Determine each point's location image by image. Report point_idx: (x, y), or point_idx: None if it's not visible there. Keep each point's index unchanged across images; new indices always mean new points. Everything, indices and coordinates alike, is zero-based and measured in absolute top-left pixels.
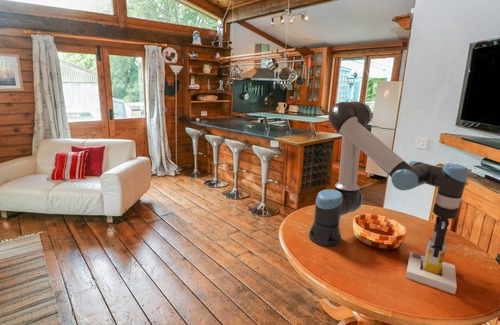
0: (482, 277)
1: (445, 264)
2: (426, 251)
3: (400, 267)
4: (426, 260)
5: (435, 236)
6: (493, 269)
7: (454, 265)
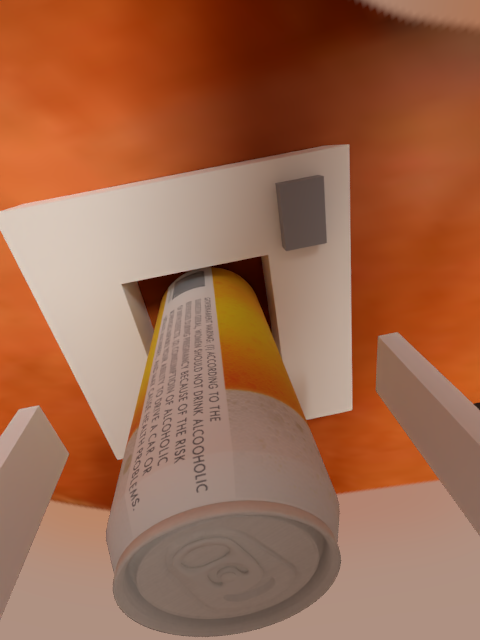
0: (368, 461)
1: (326, 377)
2: (171, 366)
3: (127, 128)
4: (156, 338)
5: (466, 464)
6: None
7: (348, 409)
